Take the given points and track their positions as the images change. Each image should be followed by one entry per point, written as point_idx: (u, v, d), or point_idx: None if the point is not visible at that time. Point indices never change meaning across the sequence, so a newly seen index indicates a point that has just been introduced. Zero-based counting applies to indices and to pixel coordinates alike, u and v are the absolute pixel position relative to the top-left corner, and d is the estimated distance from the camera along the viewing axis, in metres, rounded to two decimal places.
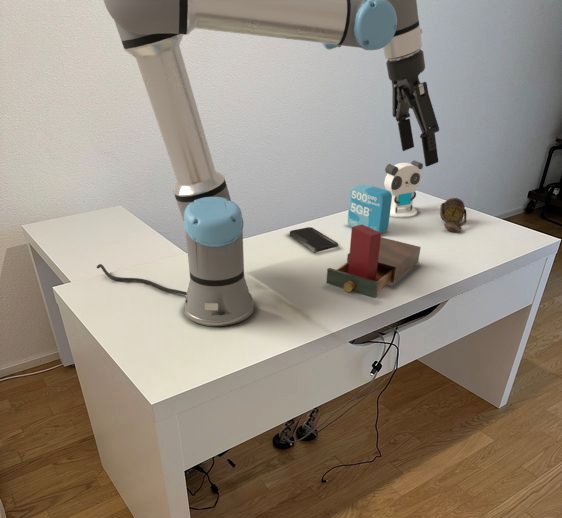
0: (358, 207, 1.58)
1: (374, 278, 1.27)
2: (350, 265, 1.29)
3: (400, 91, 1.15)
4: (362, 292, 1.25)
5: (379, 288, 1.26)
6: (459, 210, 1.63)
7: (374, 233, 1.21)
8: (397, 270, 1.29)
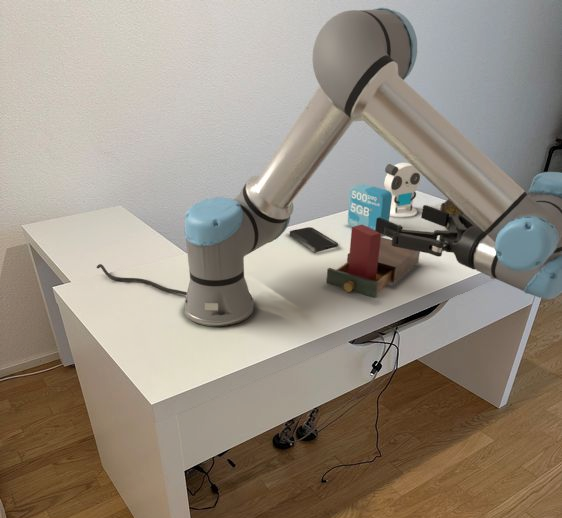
0: (358, 207, 1.58)
1: (374, 278, 1.27)
2: (350, 265, 1.29)
3: (460, 230, 1.03)
4: (362, 292, 1.25)
5: (379, 288, 1.26)
6: (459, 210, 1.63)
7: (374, 233, 1.21)
8: (397, 270, 1.29)
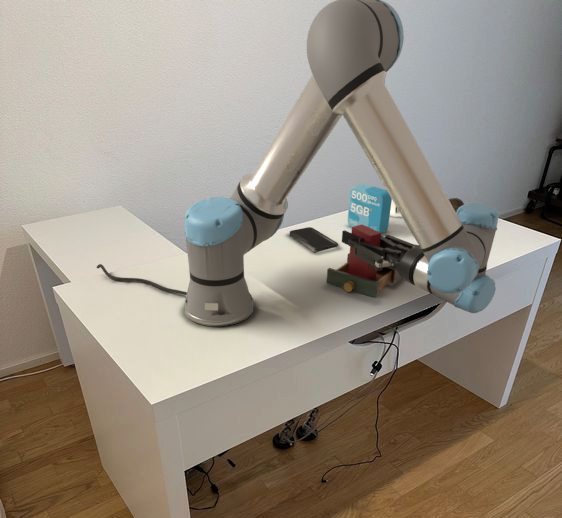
0: (358, 207, 1.58)
1: (374, 278, 1.27)
2: (350, 265, 1.29)
3: (405, 250, 1.16)
4: (362, 292, 1.25)
5: (379, 288, 1.26)
6: None
7: (374, 233, 1.21)
8: None
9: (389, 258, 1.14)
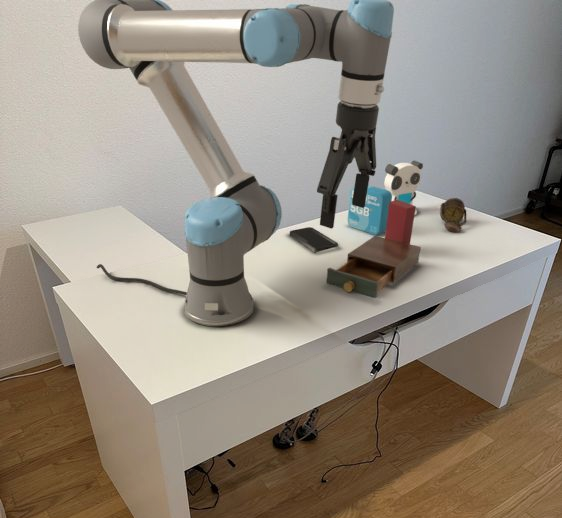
0: (358, 207, 1.58)
1: None
2: (387, 236, 1.48)
3: None
4: (362, 292, 1.25)
5: (379, 288, 1.26)
6: (459, 210, 1.63)
7: (409, 206, 1.40)
8: (397, 270, 1.29)
9: None
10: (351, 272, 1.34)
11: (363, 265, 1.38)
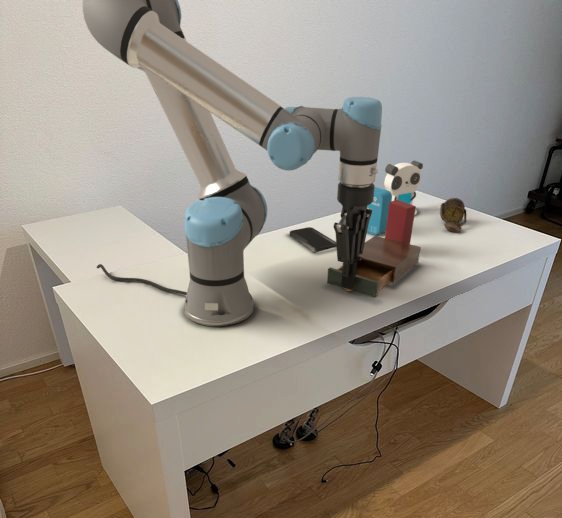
0: None
1: None
2: (387, 236, 1.48)
3: None
4: (363, 292, 1.25)
5: (380, 288, 1.26)
6: (459, 210, 1.63)
7: (409, 206, 1.40)
8: (397, 270, 1.29)
9: (341, 218, 1.12)
10: None
11: (364, 265, 1.38)
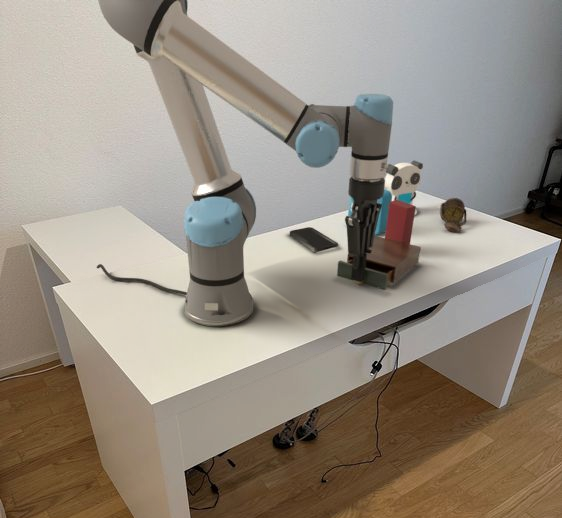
0: None
1: None
2: (387, 236, 1.48)
3: None
4: (372, 284, 1.28)
5: (388, 280, 1.29)
6: (459, 210, 1.63)
7: (409, 206, 1.40)
8: (397, 270, 1.29)
9: None
10: None
11: None
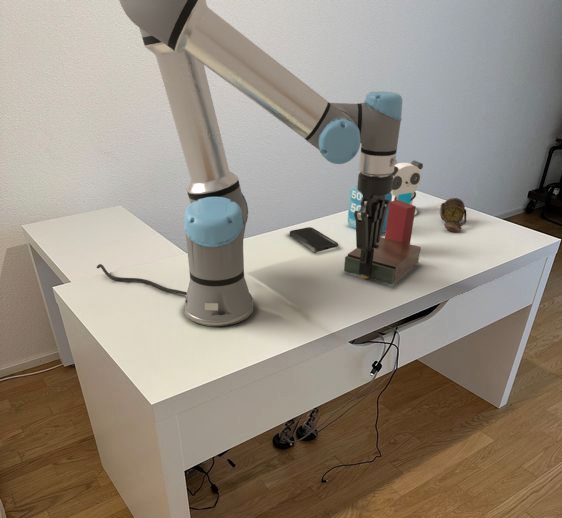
0: (358, 207, 1.58)
1: None
2: (387, 236, 1.48)
3: None
4: (379, 279, 1.30)
5: None
6: (459, 210, 1.63)
7: (409, 206, 1.40)
8: (397, 270, 1.29)
9: (361, 206, 1.18)
10: None
11: None
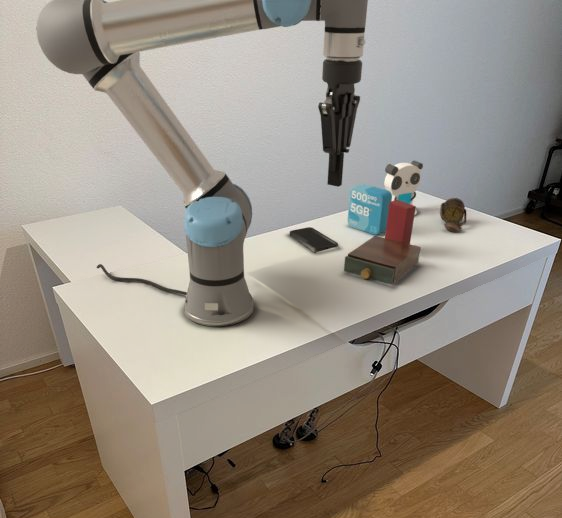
0: (358, 207, 1.58)
1: None
2: (387, 236, 1.48)
3: None
4: (378, 279, 1.30)
5: None
6: (459, 210, 1.63)
7: (409, 206, 1.40)
8: (397, 270, 1.29)
9: None
10: (367, 261, 1.40)
11: None
